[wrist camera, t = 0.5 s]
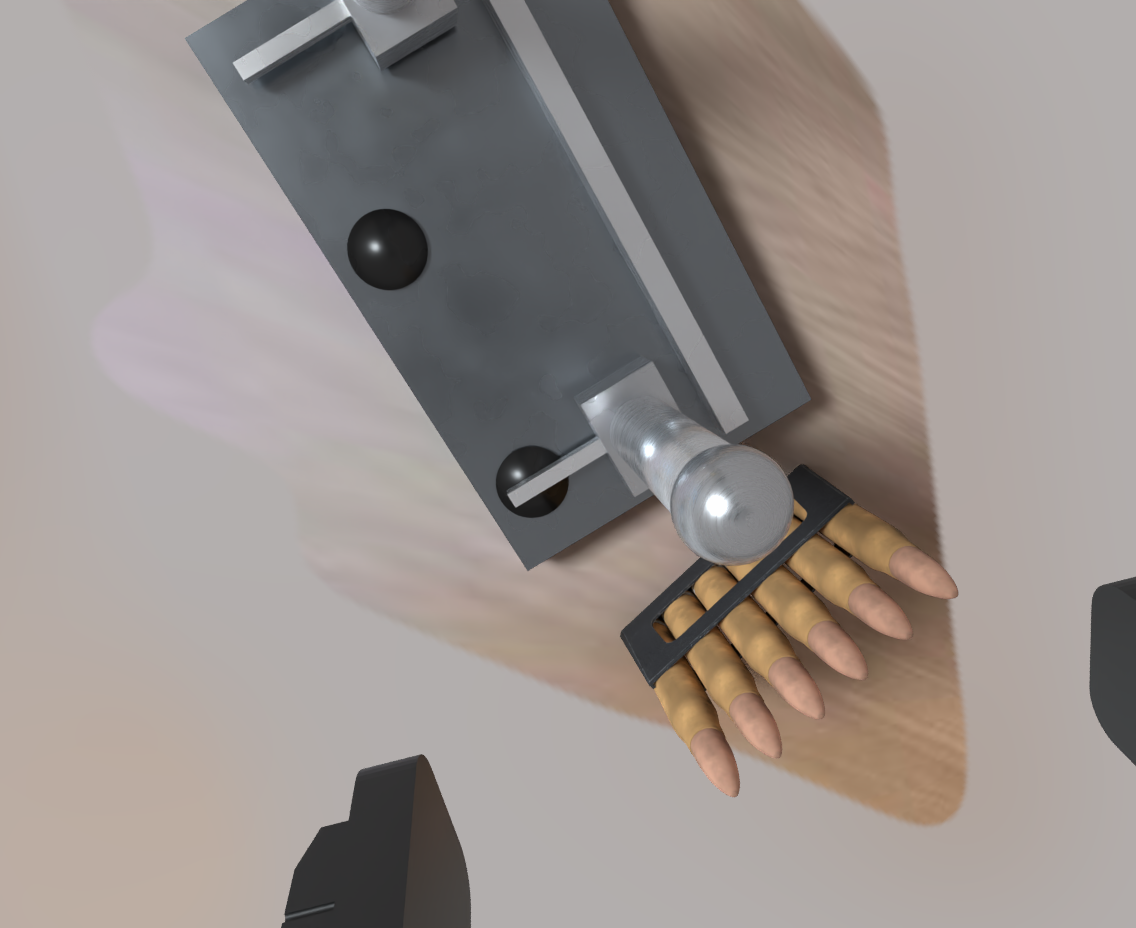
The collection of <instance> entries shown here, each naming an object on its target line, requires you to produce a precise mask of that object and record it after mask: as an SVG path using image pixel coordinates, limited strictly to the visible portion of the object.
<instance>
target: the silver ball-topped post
mask: <svg viewBox="0 0 1136 928" xmlns="http://www.w3.org/2000/svg"><path fill="white" fill-rule="evenodd" d="M573 398H574V400H575V401H576V403H577V405H578V406H579V408H580V410H581V412H582V413H583V415H584V417H585V418H586V420H587V422H588V423H589V425H590V427H591V428H592V430H593V432H594V434H595V435H596V437H594V438H593V439H591V440H589V441H588V442H586V443H584V444H583V445H581V446H579V447H578V448H576V449H574V450H573V451H571V452H570V453H568V454H566V455H565V456H563V457H561V458H560V459H558V460H556V461H555V462H553V463H551V464H550V465H548V466H546V467H545V468H543V469H541V470H540V471H538V472H536V473H535V474H533V475H531V476H530V477H528V478H527V479H525V480H523V481H522V482H520V483H518V484H517V485H515V486H513V487H512V488H510V489H508V490H507V491H506V492H507V495H508V497H509V498H510V500H511V501H512V503H513V505H514V506H515V508H516V507H518V506H519V505H521V504H523V503H524V502H526V501H528V500H529V499H531V498H533V497H534V496H536V495H538V494H539V493H541V492H542V491H544V490H546V489H547V488H549V487H551V486H552V485H554V484H556V483H557V482H559V481H561V480H562V479H564V478H566V477H567V476H569V475H571V474H572V473H574V472H576V471H577V470H579V469H581V468H582V467H584V466H585V465H587V464H589V463H590V462H592V461H594V460H595V459H597V458H599V457H600V456H602V455H604V454H605V453H606V454H607V456H608V457H609V459H610V461H611V462H612V464H613V466H614V467H615V469H616V471H617V472H618V474H619V476H620V478H621V479H622V481H623V483H624V484H625V486H626V487H627V488H628V489H629V491H630V492H631V493H632V494H633V496H634V497H636V496H637V495H639V494H641V493H642V492H644V491H646V490H647V489H650V490H651V491H652V492H653V494H654V495H655V496H656V497H657V498H658V499H659V500H660V501H661V503H662V504H663V505H664V506H665V507H666V508H667V509H668V510H669V512H670V513H671V516H672V521H673V524H674V527H675V529H676V531H677V533H678V535H679V537H680V538H681V540H682V541H683V543H684V544H685V545H686V546H687V547H688V548H689V549H690V550H691V551H693V552H694V553H695V554H696V555H698V556H699V557H701V558H703V559H705V560H707V561H709V562H712V563H715V564H719V565H725V566H740V565H746V564H751V563H753V562H756V561H758V560H760V559H762V558H764V557H766V556H767V555H769V554H770V553H771V552H773V551H774V550H775V549H776V548H777V547H778V546H779V545H780V544H781V542H782V541H783V540H784V538H785V537H786V535H787V533H788V531H789V528H790V526H791V523H792V519H793V515H794V498H793V491H792V488H791V485H790V482H789V480H788V478H787V476H786V475H785V473H784V471H783V470H782V468H781V467H780V466H779V465H778V464H777V463H776V462H775V461H774V460H773V459H772V458H771V457H769V456H768V455H766V454H765V453H763V452H761V451H759V450H757V449H755V448H752V447H749V446H745V445H739V444H730V443H728V442H727V441H725V440H723V439H722V438H720V437H719V436H717V435H715V434H714V433H712V432H711V431H709V430H707V429H706V428H704V427H703V426H701V425H700V424H698V423H696V422H695V421H693V420H692V419H690V418H688V417H687V416H685V415H684V414H682V413H681V411H680V410H679V408H678V406H677V404H676V402H675V401H674V399H673V397H672V395H671V394H670V392H669V390H668V388H667V386H666V385H665V383H664V381H663V379H662V377H661V376H660V374H659V372H658V370H657V368H656V367H655V365H654V363H653V361H651V360H648V359H646V358H644V357H642V356H640V357H639V358H637V359H635V360H634V361H632V362H630V363H629V364H627V365H625V366H624V367H622V368H620V369H619V370H617V371H615V372H614V373H612V374H610V375H609V376H607V377H605V378H604V379H602V380H601V381H599V382H597V383H596V384H594V385H592V386H591V387H589V388H587V389H586V390H584V391H582V392H581V393H579V394H577V395H576V396H574V397H573Z"/></svg>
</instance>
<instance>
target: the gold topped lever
mask: <svg viewBox="0 0 1136 928" xmlns="http://www.w3.org/2000/svg"><path fill="white" fill-rule="evenodd" d="M457 11H458V7H457V5H456V4H455V2H454V0H335V1H333V2H332V3H330V4H328V5H327V6H325V7H324V8H322V9H320V10H319V11H317V12H315V13H314V14H312V15H310V16H309V17H307V18H305V19H304V20H302V21H300V22H299V23H297V24H296V25H294V26H292V27H291V28H289V29H287V30H286V31H284V32H282V33H281V34H279V35H277V36H276V37H274V38H273V39H271V40H269V41H268V42H266V43H264V44H263V45H261V46H259V47H258V48H256V49H254V50H253V51H251V52H249V53H248V54H246V55H245V56H243V57H241V58H240V59H238V60H236V61H235V62H233V64H234V66H235V67H236V69H237V71H238V72H239V74H240V75H241V77H242V79H243V80H244V81H245V82H246V83H247V84H249V83H251V82H252V81H254V80H256V79H257V78H259V77H261V76H262V75H264V74H266V73H267V72H269V71H271V70H272V69H274V68H275V67H277V66H279V65H280V64H282V63H284V62H285V61H287V60H289V59H290V58H292V57H294V56H295V55H297V54H299V53H300V52H302V51H303V50H305V49H307V48H308V47H310V46H312V45H313V44H315V43H317V42H318V41H320V40H322V39H323V38H325V37H327V36H328V35H330V34H331V33H333V32H335V31H336V30H338V29H340V28H341V27H343V26H345V25H346V24H348V23H350V22H351V21H352V23H353V24H354V26H355V28H356V30H357V31H358V33H359V35H360V36H361V38H362V40H363V41H364V43H365V45H366V46H367V48H368V50H369V52H370V53H371V55H372V57H373V58H374V60H375V62H376V63H377V65H378V67H379V68H380V70H381V71H382V70H384V69H385V68H387V67H389V66H390V65H392V64H394V63H395V62H397V61H398V60H400V59H402V58H403V57H405V56H407V55H408V54H410V53H412V52H413V51H415V50H417V49H418V48H420V47H422V46H423V45H425V44H426V43H428V42H430V41H431V40H433V39H435V38H436V37H438V36H440V35H441V34H443V33H445V32H446V31H448V30H450V29H451V28H453V27H454V26H456V25H457Z"/></svg>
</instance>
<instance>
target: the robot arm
mask: <svg viewBox="0 0 1136 928" xmlns="http://www.w3.org/2000/svg"><path fill="white" fill-rule="evenodd" d="M1091 611H1092V612H1091V650H1090V651H1091V652H1090V653H1091V654H1090V696H1091V701H1092V705H1093V708H1094V710H1095V713H1096V716H1097V718H1098V720H1099V722H1100V724H1101V726H1102V728H1103V729H1104V731H1105V733H1106V734H1107V735H1108V737H1109V738H1110V739H1111V741H1112V742H1113V743H1114V744H1115V745H1116V746H1117V747H1118V748H1119V749H1120V750H1121V751H1122V752H1123V753H1124V754H1125V755H1126V756H1127V757H1128V758H1129V759H1130V760H1131V762H1132V763H1133V764H1134V765H1136V577H1133V578H1129V579H1125V580H1121V581H1117V582H1114V583H1109V584H1105V585H1102V586H1100V587H1098V588H1097V589H1096V591H1095V592H1094V595H1093V598H1092V610H1091ZM470 901H471V899H470V887H469V880H468V873H467V868H466V863H465V859H464V855H463V851H462V848H461V845H460V842H459V840H458V837H457V834H456V831H455V829H454V826H453V824H452V821H451V818H450V816H449V813H448V811H447V808H446V805H445V803H444V800H443V797H442V795H441V792H440V790H439V787H438V784H437V782H436V779H435V776H434V774H433V771H432V768H431V766H430V764H429V762H428V760H427V758H426V757H425V756H424V755H422V754H421V755H417V756H413V757H409V758H405V759H401V760H398V761H393V762H389V763H385V764H381V765H377V766H373V767H370V768H365V769H362V770H360V771H359V773H358V774H357V777H356V781H355V787H354V792H353V798H352V804H351V810H350V816H349V821H346V822H341V823H337V824H333V825H329V826H325V827H322V828H321V829H320V830H319V832H318V833H317V835H316V837H315V838H314V840H313V841H312V843H311V845H310V846H309V848H308V849H307V851H306V852H305V854H304V856H303V857H302V859H301V860H300V862H299V863H298V865H297V867H296V868H295V870H294V875H293V879H292V883H291V888H290V892H289V896H288V901H287V905H286V909H285V923H282V927H281V928H471V902H470Z"/></svg>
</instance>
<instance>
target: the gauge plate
mask: <svg viewBox="0 0 1136 928" xmlns="http://www.w3.org/2000/svg"><path fill="white" fill-rule="evenodd" d="M333 1H335V0H247V1H245V2H244V3H242V4H240V5H239V6H237V7H235V8H234V9H232V10H230V11H229V12H227V13H226V14H224V15H222V16H221V17H219V18H217V19H216V20H214V21H212V22H211V23H209V24H207V25H206V26H204V27H203V28H201V29H199V30H198V31H196V32H194V33H193V34H191V35H189V36H188V37H186V38H185V39H186V41H187V43H188V44H189V46H190V47H191V49H192V50H193V52H194V53H195V55H196V57H197V58H198V60H199V61H200V63H201V64H202V66H203V67H204V69H205V71H206V72H207V74H208V75H209V77H210V78H211V80H212V81H213V83H214V85H215V86H216V88H217V89H218V91H219V92H220V94H221V95H222V97H223V98H224V100H225V102H226V103H227V105H228V106H229V108H230V109H231V111H232V112H233V114H234V116H235V117H236V119H237V120H238V122H239V123H240V125H241V126H242V128H243V130H244V131H245V133H246V134H247V136H248V137H249V139H250V140H251V142H252V144H253V145H254V147H255V148H256V150H257V151H258V153H259V154H260V156H261V157H262V159H263V161H264V162H265V164H266V165H267V167H268V168H269V170H270V171H271V173H272V175H273V176H274V178H275V179H276V181H277V182H278V184H279V185H280V187H281V189H282V190H283V192H284V193H285V195H286V196H287V198H288V199H289V201H290V203H291V204H292V206H293V207H294V209H295V210H296V212H297V213H298V215H299V216H300V218H301V220H302V221H303V223H304V224H305V226H306V227H307V229H308V230H309V232H310V234H311V235H312V237H313V238H314V240H315V241H316V243H317V244H318V246H319V248H320V249H321V251H322V252H323V254H324V255H325V257H326V258H327V260H328V262H329V263H330V265H331V266H332V268H333V269H334V271H335V272H336V274H337V276H338V277H339V279H340V280H341V282H342V283H343V285H344V286H345V288H346V289H347V291H348V293H349V294H350V296H351V297H352V299H353V300H354V302H355V303H356V305H357V307H358V308H359V310H360V311H361V313H362V314H363V316H364V317H365V319H366V321H367V322H368V324H369V325H370V327H371V328H372V330H373V331H374V333H375V335H376V336H377V338H378V339H379V341H380V342H381V344H382V345H383V347H384V348H385V350H386V352H387V353H388V355H389V356H390V358H391V359H392V361H393V362H394V364H395V366H396V367H397V369H398V370H399V372H400V373H401V375H402V376H403V378H404V380H405V381H406V383H407V384H408V386H409V387H410V389H411V390H412V392H413V394H414V395H415V397H416V398H417V400H418V401H419V403H420V404H421V406H422V408H423V409H424V411H425V412H426V414H427V415H428V417H429V418H430V420H431V421H432V423H433V425H434V426H435V428H436V429H437V431H438V432H439V434H440V435H441V437H442V439H443V440H444V442H445V443H446V445H447V446H448V448H449V449H450V451H451V453H452V454H453V456H454V457H455V459H456V460H457V462H458V463H459V465H460V467H461V468H462V470H463V471H464V473H465V474H466V476H467V477H468V479H469V480H470V482H471V484H472V485H473V487H474V488H475V490H476V491H477V493H478V494H479V496H480V498H481V499H482V501H483V502H484V504H485V505H486V507H487V508H488V510H489V512H490V513H491V515H492V516H493V518H494V519H495V521H496V522H497V524H498V526H499V527H500V529H501V530H502V532H503V533H504V535H505V536H506V538H507V540H508V541H509V543H510V544H511V546H512V547H513V549H514V550H515V552H516V553H517V555H518V557H519V558H520V560H521V561H522V563H523V564H524V566H525V567H526V569H527V571H529V570H530V569H532V568H534V567H535V566H537V565H538V564H540V563H542V562H543V561H545V560H547V559H548V558H550V557H552V556H553V555H555V554H557V553H558V552H560V551H562V550H563V549H565V548H567V547H568V546H570V545H572V544H573V543H575V542H577V541H578V540H580V539H582V538H583V537H585V536H586V535H588V534H590V533H591V532H593V531H595V530H596V529H598V528H600V527H601V526H603V525H605V524H606V523H608V522H610V521H611V520H613V519H615V518H616V517H618V516H620V515H621V514H623V513H625V512H626V511H628V510H630V509H631V508H633V507H634V506H636V505H638V504H639V503H641V502H643V501H644V500H646V499H648V498H649V497H651V496H653V495H654V494H653V492H652V491H651V490H650V489H647V490H646V491H644V492H642V493H641V494H639V495H637V496H636V497H634V496H633V494H632V493H631V492H630V491H629V489H628V488H627V487H626V486H625V484H624V483H623V481H622V479H621V478H620V476H619V474H618V472H617V471H616V469H615V467H614V466H613V464H612V462H611V461H610V459H609V457H608V456H607V454H606V453H605V454H604V455H602V456H600V457H599V458H597V459H595V460H594V461H592V462H590V463H589V464H587V465H585V466H584V467H582V468H581V469H579V470H577V471H576V472H574V473H572V474H571V475H569V476H567V477H566V478H564V479H562V480H561V481H559V482H557V483H556V484H554V485H552V486H551V487H549V488H547V489H546V490H544V491H542V492H541V493H539V494H538V495H536V496H534V497H533V498H531V499H529V500H528V501H526V502H524V503H523V504H521V505H519V506H518V507H516V508H515V506H514V505H513V503H512V501H511V500H510V498H509V497H508V495H507V492H506V491H507V490H508V489H510V488H512V487H513V486H515V485H517V484H518V483H520V482H522V481H523V480H525V479H527V478H528V477H530V476H531V475H533V474H535V473H536V472H538V471H540V470H541V469H543V468H545V467H546V466H548V465H550V464H551V463H553V462H555V461H556V460H558V459H560V458H561V457H563V456H565V455H566V454H568V453H570V452H571V451H573V450H574V449H576V448H578V447H579V446H581V445H583V444H584V443H586V442H588V441H589V440H591V439H593V438H594V437H596V435H595V434H594V432H593V430H592V428H591V427H590V425H589V423H588V422H587V420H586V418H585V417H584V415H583V413H582V412H581V410H580V408H579V406H578V405H577V403H576V401H575V400H574V398H573V397H574V396H576V395H577V394H579V393H581V392H582V391H584V390H586V389H587V388H589V387H591V386H592V385H594V384H596V383H597V382H599V381H601V380H602V379H604V378H605V377H607V376H609V375H610V374H612V373H614V372H615V371H617V370H619V369H620V368H622V367H624V366H625V365H627V364H629V363H630V362H632V361H634V360H635V359H637V358H639V357H640V356H642V357H644V358H646V359H648V360H651V361H653V363H654V365H655V367H656V368H657V370H658V372H659V374H660V376H661V377H662V379H663V381H664V383H665V385H666V386H667V388H668V390H669V392H670V394H671V395H672V397H673V399H674V401H675V402H676V404H677V406H678V408H679V410H680V411H681V413H682V414H684V415H685V416H687V417H688V418H690V419H692V420H693V421H695V422H696V423H698V424H700V425H701V426H703V427H704V428H706V429H707V430H709V431H711V432H712V433H714V434H715V435H717V436H719V437H720V438H722V439H723V440H725V441H727V442H728V443H730V444H739V443H740V442H742V441H744V440H745V439H747V438H749V437H750V436H752V435H754V434H755V433H757V432H759V431H760V430H762V429H764V428H765V427H767V426H769V425H770V424H772V423H774V422H775V421H777V420H778V419H780V418H782V417H783V416H785V415H787V414H788V413H790V412H792V411H793V410H795V409H797V408H798V407H800V406H802V405H803V404H805V403H807V402H808V401H810V400H811V398H810V396H809V394H808V392H807V390H806V388H805V386H804V384H803V382H802V380H801V378H800V376H799V374H798V372H797V370H796V368H795V366H794V364H793V362H792V360H791V358H790V356H789V355H788V353H787V351H786V349H785V347H784V345H783V343H782V341H781V339H780V337H779V335H778V333H777V331H776V329H775V327H774V325H773V323H772V321H771V319H770V317H769V315H768V313H767V311H766V309H765V307H764V306H763V304H762V302H761V300H760V298H759V296H758V294H757V292H756V290H755V288H754V286H753V284H752V282H751V280H750V278H749V276H748V274H747V272H746V270H745V268H744V266H743V264H742V262H741V260H740V258H739V256H738V255H737V253H736V251H735V249H734V247H733V245H732V243H731V241H730V239H729V237H728V235H727V233H726V231H725V229H724V227H723V225H722V223H721V221H720V219H719V217H718V215H717V213H716V211H715V209H714V207H713V206H712V204H711V202H710V200H709V198H708V196H707V194H706V192H705V190H704V188H703V186H702V184H701V182H700V180H699V178H698V176H697V174H696V172H695V170H694V168H693V166H692V164H691V162H690V160H689V158H688V156H687V155H686V153H685V151H684V149H683V147H682V145H681V143H680V141H679V139H678V137H677V135H676V133H675V131H674V129H673V127H672V125H671V123H670V121H669V119H668V117H667V115H666V113H665V111H664V109H663V107H662V106H661V104H660V102H659V100H658V98H657V96H656V94H655V92H654V90H653V88H652V86H651V84H650V82H649V80H648V78H647V76H646V74H645V72H644V70H643V68H642V66H641V64H640V62H639V60H638V58H637V56H636V55H635V53H634V51H633V49H632V47H631V45H630V43H629V41H628V39H627V37H626V35H625V33H624V31H623V29H622V27H621V25H620V23H619V21H618V19H617V17H616V15H615V13H614V11H613V9H612V7H611V5H610V4H609V2H608V0H454V2H455V4H456V5H457V7H458V11H457V25H456V26H454V27H453V28H451V29H450V30H448V31H446V32H445V33H443V34H441V35H440V36H438V37H436V38H435V39H433V40H431V41H430V42H428V43H426V44H425V45H423V46H422V47H420V48H418V49H417V50H415V51H413V52H412V53H410V54H408V55H407V56H405V57H403V58H402V59H400V60H398V61H397V62H395V63H394V64H392V65H390V66H389V67H387V68H385V69H384V70H382V71H381V70H380V68H379V67H378V65H377V63H376V62H375V60H374V58H373V57H372V55H371V53H370V52H369V50H368V48H367V46H366V45H365V43H364V41H363V40H362V38H361V36H360V35H359V33H358V31H357V30H356V28H355V26H354V24H353V23H352V21H351V22H350V23H348V24H346V25H345V26H343V27H341V28H340V29H338V30H336V31H335V32H333V33H331V34H330V35H328V36H327V37H325V38H323V39H322V40H320V41H318V42H317V43H315V44H313V45H312V46H310V47H308V48H307V49H305V50H303V51H302V52H300V53H299V54H297V55H295V56H294V57H292V58H290V59H289V60H287V61H285V62H284V63H282V64H280V65H279V66H277V67H275V68H274V69H272V70H271V71H269V72H267V73H266V74H264V75H262V76H261V77H259V78H257V79H256V80H254V81H252V82H251V83H249V84H247V83H246V82H245V81H244V80H243V79H242V77H241V75H240V74H239V72H238V71H237V69H236V67H235V66H234V64H233V62H235V61H236V60H238V59H240V58H241V57H243V56H245V55H246V54H248V53H249V52H251V51H253V50H254V49H256V48H258V47H259V46H261V45H263V44H264V43H266V42H268V41H269V40H271V39H273V38H274V37H276V36H277V35H279V34H281V33H282V32H284V31H286V30H287V29H289V28H291V27H292V26H294V25H296V24H297V23H299V22H300V21H302V20H304V19H305V18H307V17H309V16H310V15H312V14H314V13H315V12H317V11H319V10H320V9H322V8H324V7H325V6H327V5H328V4H330V3H332V2H333Z"/></svg>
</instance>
